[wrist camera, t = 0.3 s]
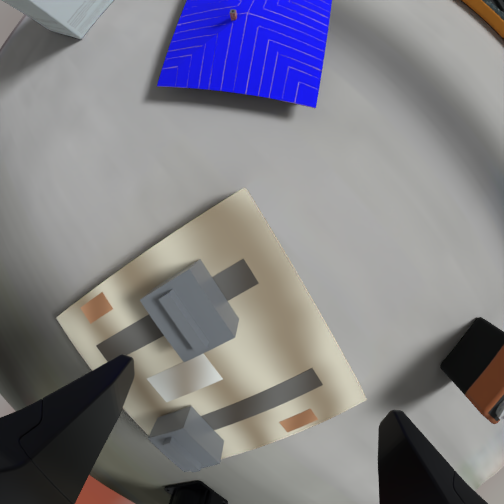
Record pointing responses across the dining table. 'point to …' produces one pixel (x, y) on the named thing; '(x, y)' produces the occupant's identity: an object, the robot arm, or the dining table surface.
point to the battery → (480, 368)
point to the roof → (250, 48)
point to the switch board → (231, 352)
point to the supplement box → (63, 14)
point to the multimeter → (490, 12)
